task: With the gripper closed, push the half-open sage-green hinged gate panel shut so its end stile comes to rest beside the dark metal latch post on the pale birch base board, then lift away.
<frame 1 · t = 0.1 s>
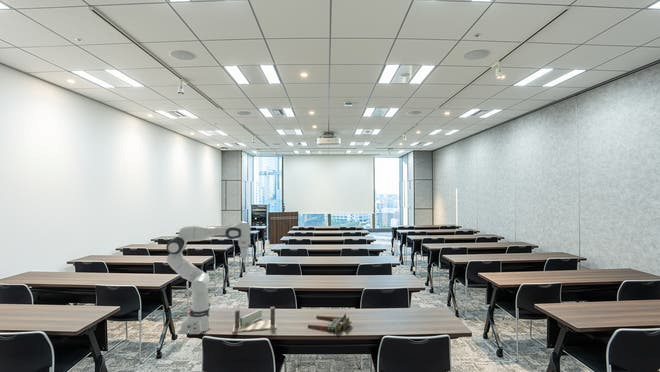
hand: (244, 261, 238), 48 cm above the table, fingers open, 8 cm apart
gate panel: (251, 317, 240), point 4 cm above the table, hinge at 45.0°
miniature gate: (330, 326, 237), on the table
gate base: (254, 326, 234), on the table
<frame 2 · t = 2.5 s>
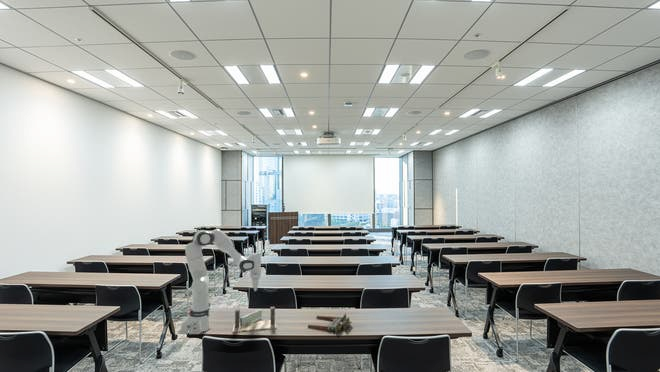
hand: (255, 290, 253), 21 cm above the table, fingers closed
nothing on the table moved.
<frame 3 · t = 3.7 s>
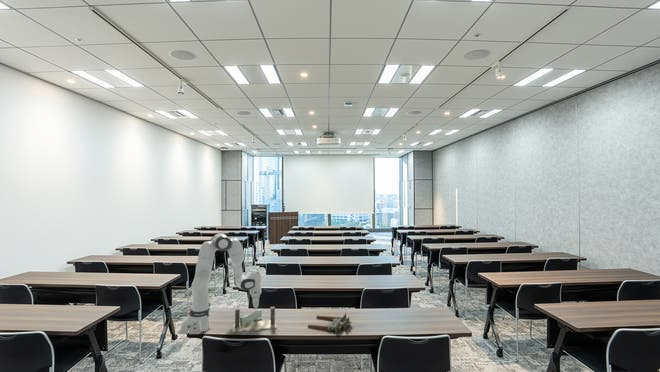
hand: (255, 308, 251), 7 cm above the table, fingers closed
nothing on the table moved.
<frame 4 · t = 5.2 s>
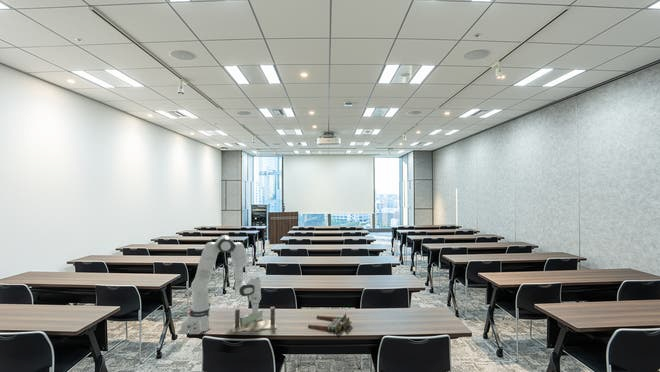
hand: (255, 315, 247), 3 cm above the table, fingers closed
gate panel: (251, 317, 240), point 4 cm above the table, hinge at 42.4°, touching gripper
everything else where it was.
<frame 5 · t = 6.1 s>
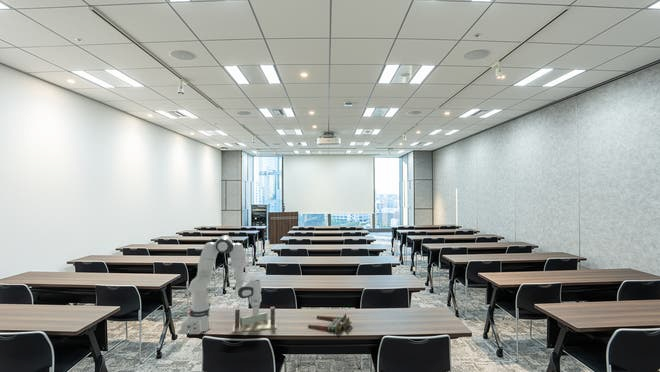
hand: (255, 317, 241), 3 cm above the table, fingers closed
gate panel: (253, 319, 237), point 4 cm above the table, hinge at 20.5°, touching gripper
everything else where it was.
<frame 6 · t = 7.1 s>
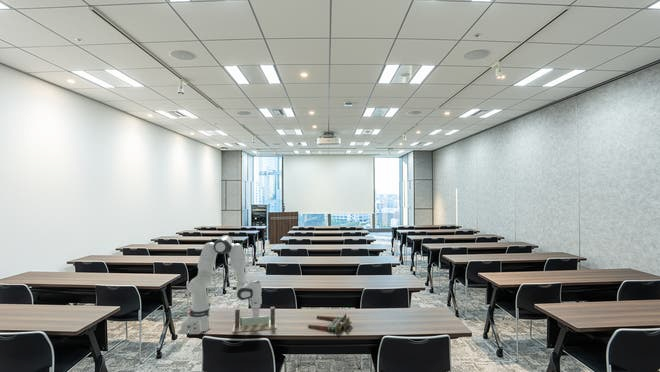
hand: (255, 320, 237), 4 cm above the table, fingers closed
gate panel: (254, 320, 234), point 4 cm above the table, hinge at -0.4°, touching gripper
everything else where it was.
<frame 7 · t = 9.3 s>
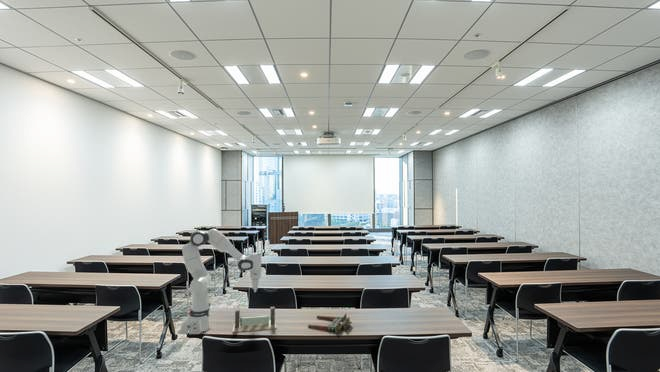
hand: (255, 291, 245), 23 cm above the table, fingers closed
gate panel: (254, 320, 234), point 4 cm above the table, hinge at -0.3°
everything else where it was.
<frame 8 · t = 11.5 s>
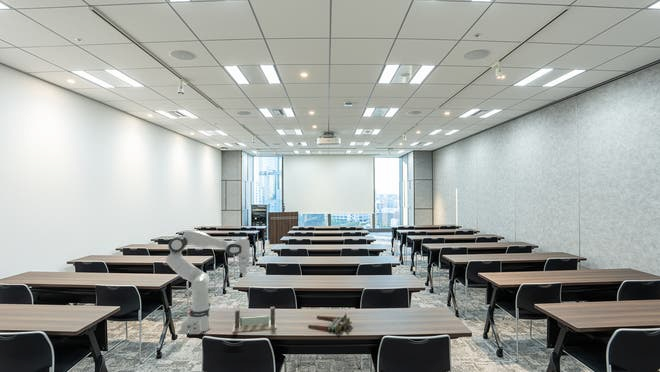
hand: (243, 275, 247), 34 cm above the table, fingers closed
nothing on the table moved.
at the end: gate panel at +0° (first picture: +45°) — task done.
